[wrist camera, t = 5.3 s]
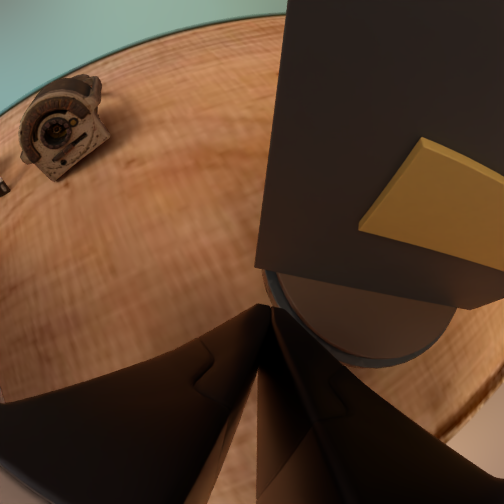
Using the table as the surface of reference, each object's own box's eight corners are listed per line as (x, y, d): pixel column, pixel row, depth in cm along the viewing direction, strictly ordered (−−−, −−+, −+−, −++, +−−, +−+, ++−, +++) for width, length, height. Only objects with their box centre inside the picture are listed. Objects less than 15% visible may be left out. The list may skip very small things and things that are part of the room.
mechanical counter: (-22, 166, 14) (55, 112, 12) (28, 61, 17) (105, 12, 15) (34, 198, 20) (116, 167, 19) (64, 98, 24) (138, 62, 22)
